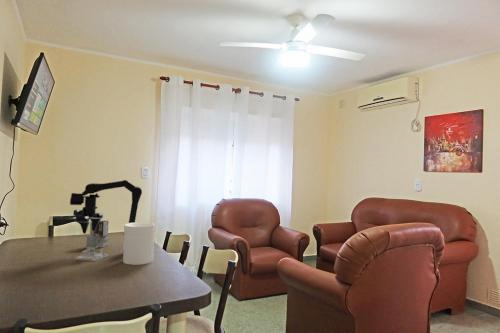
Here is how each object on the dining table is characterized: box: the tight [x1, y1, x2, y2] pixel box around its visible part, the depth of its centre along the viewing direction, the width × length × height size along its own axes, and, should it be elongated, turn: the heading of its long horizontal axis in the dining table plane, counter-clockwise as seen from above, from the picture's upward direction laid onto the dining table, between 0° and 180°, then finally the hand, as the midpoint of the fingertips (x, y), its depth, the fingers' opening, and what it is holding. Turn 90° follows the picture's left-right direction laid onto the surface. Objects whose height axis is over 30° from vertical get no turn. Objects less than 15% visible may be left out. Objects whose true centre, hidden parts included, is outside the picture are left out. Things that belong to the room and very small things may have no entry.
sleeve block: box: [74, 248, 109, 262], centre depth 188 cm, size 12×12×4 cm
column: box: [85, 234, 99, 250], centre depth 188 cm, size 4×4×7 cm
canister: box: [122, 221, 156, 266], centre depth 186 cm, size 16×16×20 cm
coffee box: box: [89, 219, 109, 248], centre depth 216 cm, size 9×6×16 cm
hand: (89, 232), depth 194 cm, fingers open, 9 cm apart
